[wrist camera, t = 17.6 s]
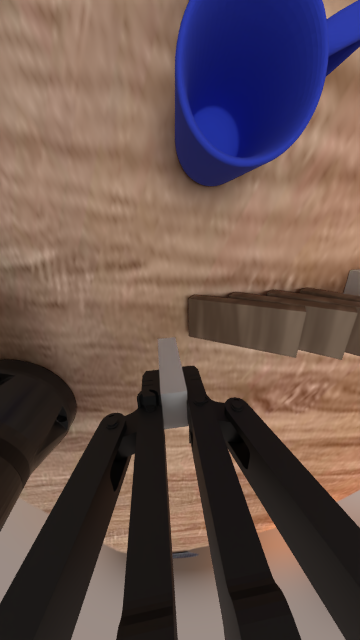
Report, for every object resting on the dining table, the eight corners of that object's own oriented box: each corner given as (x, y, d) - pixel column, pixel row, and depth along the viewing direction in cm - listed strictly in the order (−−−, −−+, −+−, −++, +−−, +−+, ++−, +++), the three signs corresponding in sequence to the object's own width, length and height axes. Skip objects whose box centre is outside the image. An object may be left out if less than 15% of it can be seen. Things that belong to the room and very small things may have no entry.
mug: (295, 155, 21) (405, 90, 11) (188, 210, 22) (210, 191, 12) (276, 47, 17) (407, -164, 8) (152, 118, 18) (145, 0, 9)
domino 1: (188, 336, 26) (295, 357, 21) (188, 298, 24) (306, 312, 19) (194, 330, 27) (295, 349, 22) (194, 294, 25) (305, 306, 20)
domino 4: (272, 289, 26) (407, 309, 18) (267, 324, 28) (387, 355, 20) (267, 292, 25) (409, 314, 17) (262, 329, 27) (387, 363, 19)
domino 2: (226, 332, 26) (341, 359, 20) (229, 295, 24) (357, 312, 18) (231, 327, 28) (340, 351, 21) (234, 291, 26) (355, 307, 19)
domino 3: (292, 326, 27) (426, 367, 18) (300, 289, 25) (453, 316, 16) (299, 322, 28) (429, 360, 19) (306, 287, 26) (454, 311, 17)
